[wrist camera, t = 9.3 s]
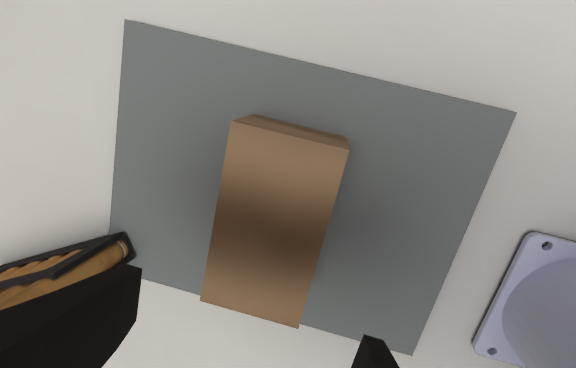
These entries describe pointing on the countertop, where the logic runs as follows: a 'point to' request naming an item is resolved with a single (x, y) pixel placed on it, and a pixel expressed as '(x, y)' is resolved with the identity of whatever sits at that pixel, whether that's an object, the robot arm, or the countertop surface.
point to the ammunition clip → (61, 268)
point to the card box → (271, 216)
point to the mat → (352, 190)
